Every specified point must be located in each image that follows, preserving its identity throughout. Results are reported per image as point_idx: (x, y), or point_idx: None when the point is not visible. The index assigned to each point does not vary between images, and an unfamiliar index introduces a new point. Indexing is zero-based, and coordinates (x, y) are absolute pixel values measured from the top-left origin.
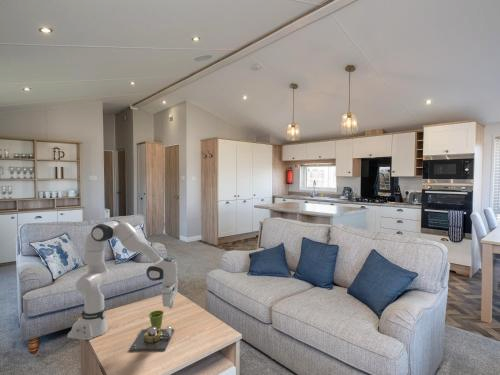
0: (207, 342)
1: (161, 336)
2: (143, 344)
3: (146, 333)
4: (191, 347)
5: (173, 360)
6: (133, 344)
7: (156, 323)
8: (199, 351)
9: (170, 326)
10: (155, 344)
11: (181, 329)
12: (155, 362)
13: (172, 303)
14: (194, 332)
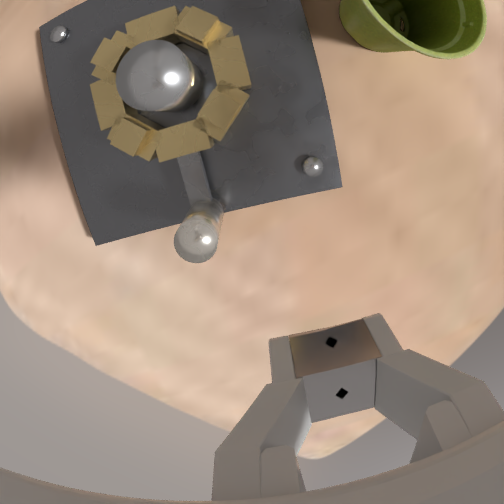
0: (245, 404)
1: (178, 158)
2: (85, 74)
3: (117, 45)
4: (181, 359)
5: (61, 317)
6: (76, 13)
7: (354, 18)
8: (166, 395)
9: (211, 252)
10: (104, 157)
11: (367, 224)
12: (16, 243)
13: (378, 408)
14: (335, 320)
